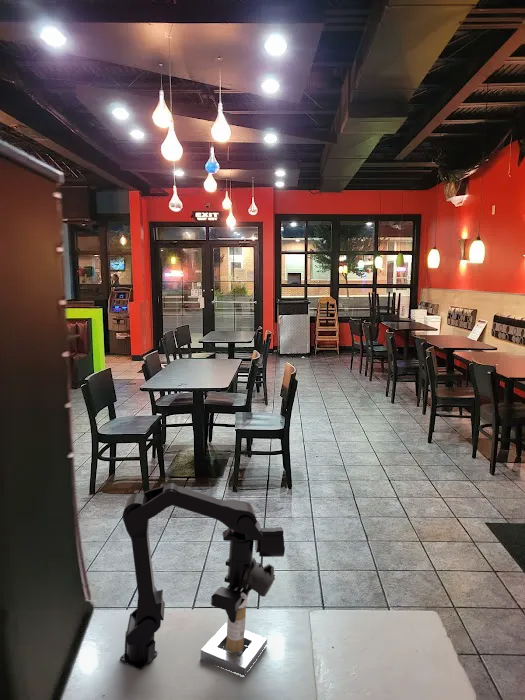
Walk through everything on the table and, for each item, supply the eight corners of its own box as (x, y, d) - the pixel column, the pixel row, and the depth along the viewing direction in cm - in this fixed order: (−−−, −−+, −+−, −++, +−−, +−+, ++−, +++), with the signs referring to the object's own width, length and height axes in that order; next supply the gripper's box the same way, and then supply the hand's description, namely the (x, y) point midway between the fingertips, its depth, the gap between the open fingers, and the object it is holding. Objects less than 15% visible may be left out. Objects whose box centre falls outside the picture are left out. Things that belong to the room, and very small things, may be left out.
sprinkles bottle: (235, 638, 125) (238, 588, 124) (247, 648, 122) (251, 596, 120) (221, 646, 121) (224, 595, 120) (233, 656, 118) (237, 603, 117)
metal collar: (200, 659, 119) (201, 649, 119) (225, 631, 130) (225, 622, 129) (244, 678, 114) (244, 668, 113) (266, 647, 124) (267, 638, 124)
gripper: (257, 583, 108) (252, 650, 109) (284, 547, 125) (279, 605, 127) (211, 570, 112) (207, 635, 113) (244, 537, 129) (240, 593, 131)
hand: (236, 616), depth 121 cm, fingers closed on sprinkles bottle, 4 cm apart
